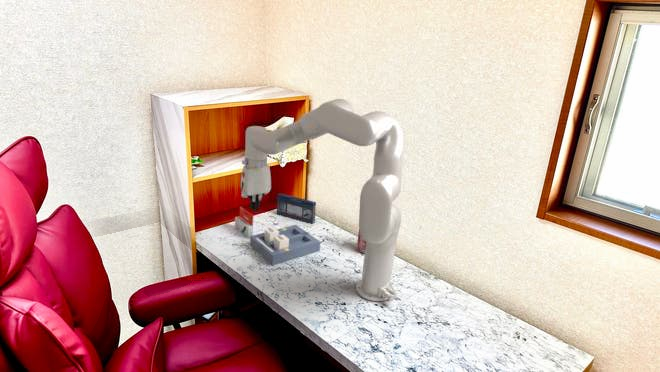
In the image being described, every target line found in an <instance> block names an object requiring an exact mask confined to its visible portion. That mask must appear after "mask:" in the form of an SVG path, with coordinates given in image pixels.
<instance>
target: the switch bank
mask: <svg viewBox="0 0 660 372" xmlns="http://www.w3.org/2000/svg"><path fill="white" fill-rule="evenodd" d="M276 229H277V230H278V231H279V235H284V236H286V237H287V238H288V239H289V247H287V248H284V249H281V250H277V251H276V250H274V241H271V242H267V243H266V242H265V241H264V237H265V232H262V233H257V234H253V236H250V238H249V239H250V243H249V246H250V247H251V248H252V249H254V250H255V251H256V252H257V253H258V254H259V255H261V257H263V258H264V259H265V260H266V261H267V262H268V263H270V264H271V265H272V266H276V265H278V264H282V263H285V262H288V261H291V260H294V259H297V258H301V257H304V256H308V255H311V254H315V253H318V252H320V251H321V241H320V240H319V239H318V238H316V237H314V236H313V235H312V234H310V233H309V232H308V231H306V230H304V229H303V228H302V227H300V226H298V225H297V224H293V225H288V226H285V227H281V228H276Z"/></svg>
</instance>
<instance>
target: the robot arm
mask: <svg viewBox="0 0 660 372" xmlns="http://www.w3.org/2000/svg"><path fill="white" fill-rule="evenodd" d="M326 134H329V135H332V136H334V137H336V138H339V139H341V140H343V141H346V142H348V143H350V144H352V145H355V146H357V147H368V146H371V145H374V143H375V150H374V156H373V167H372V168H373V169H372V175H371V177H370V178H369V179H368V180H366V182H365V183H364V184H363V185H362V187H361V191H360V195H359V211H358V213H359V214H358V215H359V216H358V228H359V229H358V231H359V230H360V234H361V236H362V237H363V239H364V240H365V241H366V247H365V254H363V255H364V258H363V266H362V272H361V273H362V274H361V279H359V280H358V281H357V283H356V284H355V285H356V286H355V291H356V293H357V294H358V295H359V296H360V297H361V298H363V299H366V300H368V301H372V302H384V301H388V300H389V301H390V302H393V301H394V300H395V297H396V296H397V294H398V293H397V291H395V290H394V286H393V283H392V282H391V279H392V273H393V272H392V271H393V265H394V260H395V259H394V258H395V253H396V246H397V240H398V237H399V232H400V227H401V222H402V221H401V220H402V214H401V211H400V209H399V207H398V206H397V204H395V203H393V202H394V201H395V200H396V199H397V198H398V196H399V195H400V193H401V190H402V189H401V187H402V173H403V172H402V171H403V155H404V136H403V131H402V129H401V126H400V124H399V123H398V122H397V120H396V119H395V118H394V117H393V116H391V115H390V114H389V113H386V112H384V111H380V110H379V111H378V110H377V111H375V110H374V111H370V112H368V113H365V114H363V115H360V114H358V113H354V107H353V106H352V104H351V103H350V102H349V101H348V100H347V99H344V98H337V99H332V100H329V101H325V102H323V103H322V104H320V105H319V106H318V107H316V108H315V109H312V110H310V111H308V112H306V113H303V114H302V115H301V116H300V118H299V119H298V120H296V121H294V122H292V123H290V124H287V125H286V126H283V127H280V128H278V129H277V128H276V129H274V130H270V131H268V129H267V128H266V127H264V126H259V125H252V126H248V127H247V128H246V130H245V145H244V148H245V150H244V152H245V156H244V159H243V160H242V161H241V164H242V165H243V167H242V170H241V171H242V173H241V178H240V191H241V192H240V193H241V195H240V196H241V198H243V199H244V198H246V199H247V198H248V199H249V200H250V206H249V207H250V209H251V211H253V212H255V213H256V212H259V211H260V207H261V206H260V205H261V204H260V203H261V201H262V198H263V197H264V196H265V195H267V194H269V192H270V191H271V189H272V176H271V169H270V165H269V164H268V155H270V156H271V155H272V156H273V155H277V154H279V153H281V152H284V151H286V150H289V149H292V148H293V147H295V146H297V145H300V144H302V143H305V142H307V141H309V140H315V139H318V138H320V137H322V136H324V135H326Z"/></svg>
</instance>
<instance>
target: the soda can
mask: <svg viewBox="0 0 660 372" xmlns="http://www.w3.org/2000/svg"><path fill="white" fill-rule="evenodd" d="M356 245H357V246H356V247H357V248H356V249H357V251H359V252H360V253H362V254H363V255H365V247H366V241H365V240H364V239H363V237H362V236H361V234H360V230H359V229H358V236H357V244H356Z"/></svg>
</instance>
